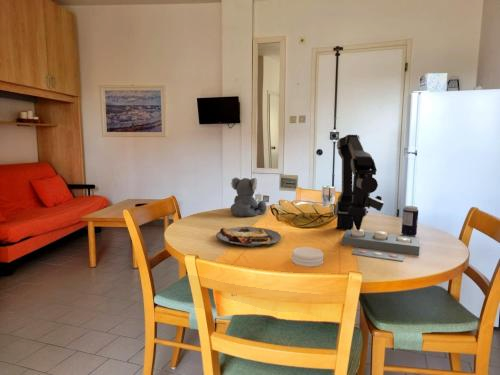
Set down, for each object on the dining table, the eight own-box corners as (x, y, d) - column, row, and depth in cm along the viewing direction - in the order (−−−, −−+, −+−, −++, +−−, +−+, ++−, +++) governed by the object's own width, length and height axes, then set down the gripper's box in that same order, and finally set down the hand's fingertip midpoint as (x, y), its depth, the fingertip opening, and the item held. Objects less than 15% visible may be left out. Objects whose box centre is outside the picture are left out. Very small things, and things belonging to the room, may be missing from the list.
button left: (351, 238, 131) (351, 230, 131) (352, 235, 135) (353, 228, 135) (363, 240, 130) (363, 232, 129) (364, 237, 134) (364, 229, 133)
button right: (396, 248, 125) (397, 239, 125) (396, 244, 129) (397, 236, 129) (409, 249, 123) (410, 241, 123) (409, 246, 127) (410, 238, 127)
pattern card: (351, 254, 119) (351, 253, 119) (354, 248, 125) (354, 247, 125) (402, 261, 112) (402, 260, 112) (402, 255, 119) (403, 254, 119)
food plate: (218, 249, 121) (218, 239, 121) (214, 232, 144) (214, 224, 144) (287, 248, 125) (287, 239, 125) (273, 232, 148) (273, 224, 148)
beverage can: (417, 237, 140) (420, 208, 139) (402, 236, 141) (405, 207, 140) (414, 234, 146) (416, 206, 144) (399, 233, 147) (402, 205, 145)
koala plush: (268, 213, 183) (269, 176, 181) (251, 219, 168) (252, 179, 165) (240, 209, 192) (240, 174, 189) (221, 215, 177) (222, 177, 174)
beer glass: (318, 214, 182) (320, 186, 180) (331, 214, 183) (333, 186, 180) (322, 217, 175) (324, 187, 173) (336, 217, 176) (337, 187, 174)
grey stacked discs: (329, 263, 110) (330, 253, 110) (307, 270, 104) (307, 258, 104) (307, 254, 118) (307, 244, 118) (285, 260, 112) (285, 250, 112)
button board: (341, 244, 129) (341, 237, 129) (346, 236, 140) (346, 229, 140) (418, 255, 119) (419, 246, 118) (417, 245, 130) (418, 237, 129)
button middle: (373, 241, 128) (373, 233, 128) (374, 238, 132) (374, 230, 132) (386, 242, 126) (386, 234, 126) (386, 239, 130) (387, 232, 130)
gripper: (382, 194, 118) (379, 238, 120) (385, 187, 135) (382, 226, 137) (348, 191, 123) (346, 234, 125) (355, 185, 140) (353, 223, 142)
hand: (358, 229), depth 132 cm, fingers closed
